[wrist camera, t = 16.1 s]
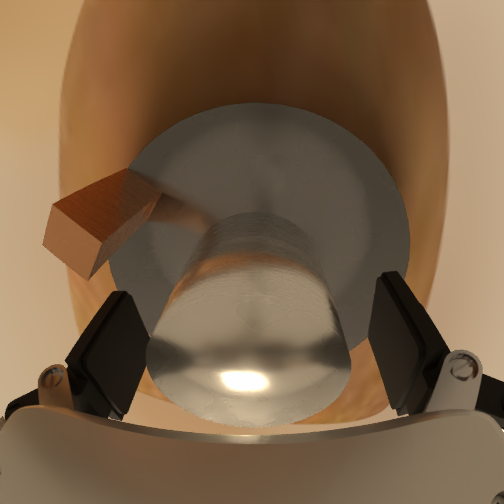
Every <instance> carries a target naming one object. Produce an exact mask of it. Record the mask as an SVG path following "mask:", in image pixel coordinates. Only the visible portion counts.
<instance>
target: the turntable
mask: <svg viewBox="0 0 504 504" xmlns="http://www.w3.org/2000/svg"><path fill="white" fill-rule="evenodd" d="M248 212H262V213H269V214H273V215H277V216H280V217H282V218H285V219H287V220H289V221H291V222H292V223H294V224H296V225H297V226H298V227H300V228H301V229H302V230H303V231H304V232H305V233H306V234H307V235H308V236H309V237H310V239H311V240H312V242H313V243H314V245H315V247H316V249H317V251H318V254H319V257H320V260H321V263H322V266H323V269H324V272H325V275H326V278H327V281H328V284H329V287H330V290H331V293H332V297H333V300H334V303H335V306H336V310H337V313H338V316H339V320H340V323H341V326H342V330H343V333H344V337H345V340H346V344H347V347H348V351H350V350H352V349H353V348H355V347H356V346H357V345H359V344H360V343H361V342H362V341H364V340H365V339H366V338H367V337H368V329H369V324H370V318H371V313H372V307H373V300H374V294H375V287H376V280H377V277H380V276H381V274H382V273H383V272H389V271H398V272H399V274H400V275H401V277H402V278H403V280H404V279H405V276H406V271H407V266H408V261H409V252H410V233H409V223H408V218H407V214H406V210H405V206H404V202H403V200H402V197H401V195H400V192H399V190H398V188H397V186H396V183H395V181H394V180H393V178H392V177H391V175H390V173H389V172H388V170H387V169H386V167H385V166H384V164H383V163H382V162H381V161H380V159H379V158H378V157H377V156H376V155H375V154H374V153H373V151H372V150H371V149H370V148H369V147H368V146H367V145H366V144H364V143H363V142H362V141H361V140H360V139H358V138H357V137H356V136H355V135H353V134H352V133H351V132H350V131H348V130H346V129H345V128H343V127H341V126H340V125H338V124H336V123H335V122H333V121H331V120H329V119H327V118H325V117H322V116H320V115H317V114H315V113H312V112H309V111H307V110H304V109H299V108H295V107H291V106H286V105H281V104H270V103H242V104H232V105H226V106H221V107H217V108H214V109H210V110H206V111H203V112H200V113H198V114H195V115H193V116H191V117H188V118H186V119H184V120H182V121H180V122H178V123H176V124H175V125H173V126H172V127H170V128H169V129H167V130H165V131H164V132H162V133H161V134H160V135H158V136H157V137H156V138H155V139H154V140H153V141H152V142H150V143H149V144H148V145H147V146H146V147H145V148H144V149H143V150H142V151H141V152H140V153H139V155H138V156H137V157H136V158H135V160H134V161H133V162H132V163H131V164H130V166H129V167H128V168H126V169H123V170H121V171H119V172H117V173H114V174H112V175H110V176H108V177H105V178H103V179H101V180H99V181H97V182H95V183H93V184H91V185H88V186H86V187H84V188H82V189H80V190H78V191H76V192H74V193H73V194H71V195H69V196H67V197H65V198H63V199H61V200H59V201H57V202H56V203H54V204H53V205H52V208H51V211H50V216H49V219H48V223H47V227H46V232H45V236H44V240H43V246H44V247H45V248H47V249H48V250H49V251H50V252H51V253H53V254H54V255H55V256H56V257H57V258H59V259H60V260H61V261H62V262H63V263H65V264H66V265H67V266H68V267H70V268H71V269H72V270H74V271H75V272H76V273H77V274H79V275H80V276H81V277H83V278H84V279H85V280H87V281H88V280H89V279H90V278H91V277H92V276H93V275H94V274H95V273H96V271H97V270H98V269H99V268H100V267H101V266H102V265H103V264H104V263H105V262H106V261H107V260H108V259H109V264H110V269H111V273H112V276H113V279H114V282H115V285H116V287H117V289H118V291H127V292H128V293H129V294H130V295H132V297H133V299H134V302H135V304H136V307H137V309H138V312H139V314H140V316H141V319H142V321H143V323H144V326H145V328H146V330H147V332H148V333H149V334H150V335H152V333H153V331H154V328H155V326H156V324H157V322H158V320H159V318H160V316H161V314H162V312H163V310H164V307H165V305H166V303H167V301H168V299H169V297H170V295H171V293H172V291H173V289H174V287H175V285H176V283H177V281H178V279H179V277H180V275H181V273H182V271H183V269H184V267H185V265H186V263H187V262H188V260H189V258H190V256H191V254H192V252H193V250H194V248H195V246H196V244H197V242H198V241H199V239H200V238H201V237H202V235H203V234H204V233H205V232H206V231H207V230H208V229H209V228H210V227H211V226H213V225H214V224H215V223H217V222H219V221H221V220H222V219H225V218H227V217H230V216H232V215H236V214H240V213H248Z"/></svg>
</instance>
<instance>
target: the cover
mask: <svg viewBox="0 0 504 504" xmlns="http://www.w3.org/2000/svg"><path fill="white" fill-rule="evenodd" d="M146 365H147V369H148V372H149V374H150V376H151V378H152V380H153V381H154V383H155V385H156V386H157V387H158V388H159V390H160V391H161V392H162V393H163V394H164V395H165V396H166V397H167V398H168V399H170V400H171V401H172V402H174V403H175V404H176V405H178V406H179V407H181V408H183V409H184V410H186V411H188V412H190V413H192V414H194V415H196V416H199V417H201V418H204V419H207V420H210V421H213V422H217V423H220V424H225V425H231V426H238V427H253V428H254V427H255V428H256V427H273V426H279V425H285V424H289V423H293V422H297V421H300V420H303V419H305V418H308V417H310V416H312V415H314V414H316V413H318V412H320V411H321V410H323V409H325V408H326V407H327V406H329V405H330V404H331V403H332V402H333V401H335V400H336V399H337V398H338V397H339V395H340V394H341V393H342V392H343V390H344V389H345V387H346V385H347V383H348V381H349V378H350V374H351V359H350V355H349V351H348V347H347V344H346V340H345V337H344V333H343V330H342V326H341V323H340V320H339V316H338V313H337V310H336V306H335V303H334V300H333V297H332V293H331V290H330V287H329V284H328V281H327V278H326V275H325V272H324V269H323V266H322V263H321V260H320V257H319V254H318V251H317V249H316V247H315V245H314V243H313V242H312V240H311V239H310V237H309V236H308V235H307V234H306V233H305V232H304V231H303V230H302V229H301V228H300V227H298V226H297V225H296V224H294V223H292V222H291V221H289V220H287V219H285V218H282V217H280V216H277V215H273V214H269V213H262V212H248V213H240V214H236V215H232V216H230V217H227V218H225V219H222V220H221V221H219V222H217V223H215V224H214V225H213V226H211V227H210V228H209V229H208V230H207V231H206V232H205V233H204V234H203V235H202V237H201V238H200V239H199V241H198V242H197V244H196V246H195V248H194V250H193V252H192V254H191V256H190V258H189V260H188V262H187V263H186V265H185V267H184V269H183V271H182V273H181V275H180V277H179V279H178V281H177V283H176V285H175V287H174V289H173V291H172V293H171V295H170V297H169V299H168V301H167V303H166V305H165V307H164V310H163V312H162V314H161V316H160V318H159V320H158V322H157V324H156V326H155V328H154V331H153V333H152V335H151V337H150V339H149V342H148V344H147V348H146Z"/></svg>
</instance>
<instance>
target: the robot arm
mask: <svg viewBox="0 0 504 504" xmlns="http://www.w3.org/2000/svg"><path fill="white" fill-rule="evenodd" d="M149 339H150V337H149V334H148V332H147V330H146V328H145V326H144V323H143V321H142V319H141V316H140V314H139V312H138V309H137V307H136V304H135V302H134V299H133V297H132V295H130V294H129V293H128V292H127V291H113V292H112V293H111V294H110V295H109V297H108V298H107V299H106V301H105V302H104V304H103V305H102V306H101V308H100V309H99V310H98V312H97V313H96V315H95V316H94V317H93V319H92V320H91V322H90V323H89V325H88V326H87V328H86V329H85V330H84V332H83V333H82V335H81V336H80V338H79V339H78V341H77V342H76V344H75V345H74V347H73V348H72V350H71V352H70V353H69V355H68V356H67V358H66V359H65V362H66V363H67V364H68V367H67V369H66V368H65V367H64V366H63V365H60V364H55V365H51V366H49V367H48V368H46V369H45V370H44V371H43V372H42V373H41V375H40V377H39V379H38V388H37V389H35V390H33V391H31V392H29V393H27V394H25V395H23V396H21V397H19V398H17V399H15V400H13V401H12V402H10V403H9V404H8V406H7V408H6V411H5V418H4V417H3V416H2V418H0V504H504V382H502V381H500V380H497V379H495V378H492V377H490V376H487V375H485V374H482V365H481V362H480V360H479V359H478V357H477V356H475V355H474V354H473V353H471V352H469V351H466V350H455V351H453V352H450V350H449V348H448V346H447V345H446V343H445V341H444V340H443V338H442V336H441V334H440V333H439V331H438V330H437V328H436V326H435V325H434V323H433V321H432V320H431V318H430V317H429V315H428V314H427V312H426V310H425V309H424V307H423V306H422V305H421V304H420V303H419V302H418V300H417V299H416V297H415V296H414V294H413V293H412V291H411V290H410V288H409V287H408V285H407V284H406V282H405V281H404V280H403V278H402V277H401V275H400V274H399V272H398V271H389V272H383V273H382V274H381V276H380V277H377V280H376V287H375V294H374V300H373V307H372V313H371V318H370V324H369V329H368V339H369V342H370V345H371V348H372V350H373V353H374V356H375V359H376V362H377V365H378V368H379V371H380V374H381V377H382V380H383V383H384V386H385V389H386V393H387V396H388V399H389V402H390V406H391V408H392V409H396V411H397V415H398V416H401V415H405V414H409V416H406V417H401V418H397V419H392V420H388V421H383V422H378V423H373V424H368V425H362V426H356V427H349V428H343V429H336V430H328V431H320V432H310V433H300V434H299V433H298V434H282V435H220V434H219V435H218V434H203V433H192V432H182V431H173V430H166V429H158V428H152V427H146V426H140V425H135V424H130V423H125V422H120V421H122V419H123V416H124V414H127V412H128V411H129V408H130V405H131V403H132V400H133V398H134V395H135V392H136V390H137V387H138V385H139V382H140V380H141V377H142V375H143V372H144V370H145V368H146V348H147V344H148V342H149ZM108 417H110V418H111V419H115V420H111V419H108ZM116 420H120V421H116Z"/></svg>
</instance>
